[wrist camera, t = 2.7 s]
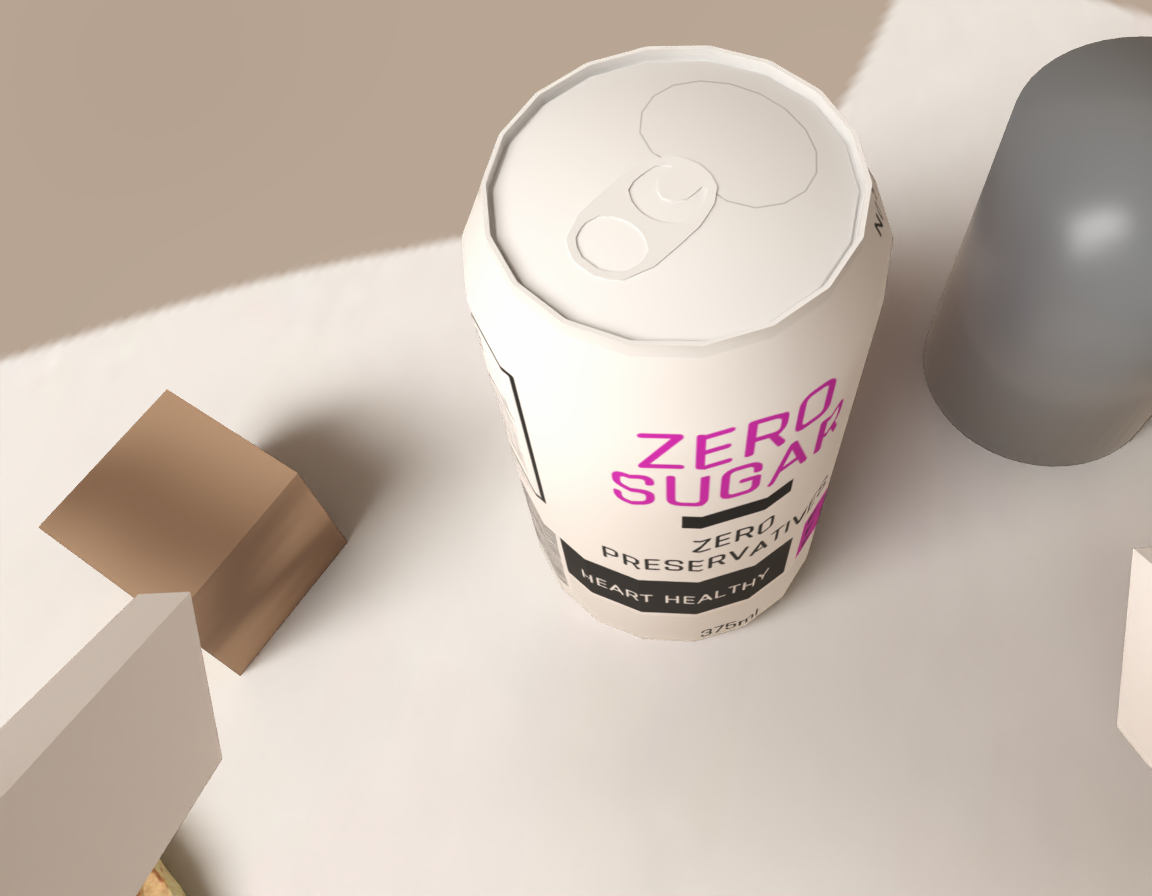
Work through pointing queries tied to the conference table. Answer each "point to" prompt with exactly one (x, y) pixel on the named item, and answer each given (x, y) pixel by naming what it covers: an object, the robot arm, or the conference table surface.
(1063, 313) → the grey domed cylinder
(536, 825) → the conference table surface
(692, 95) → the supplement can
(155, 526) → the walnut block
